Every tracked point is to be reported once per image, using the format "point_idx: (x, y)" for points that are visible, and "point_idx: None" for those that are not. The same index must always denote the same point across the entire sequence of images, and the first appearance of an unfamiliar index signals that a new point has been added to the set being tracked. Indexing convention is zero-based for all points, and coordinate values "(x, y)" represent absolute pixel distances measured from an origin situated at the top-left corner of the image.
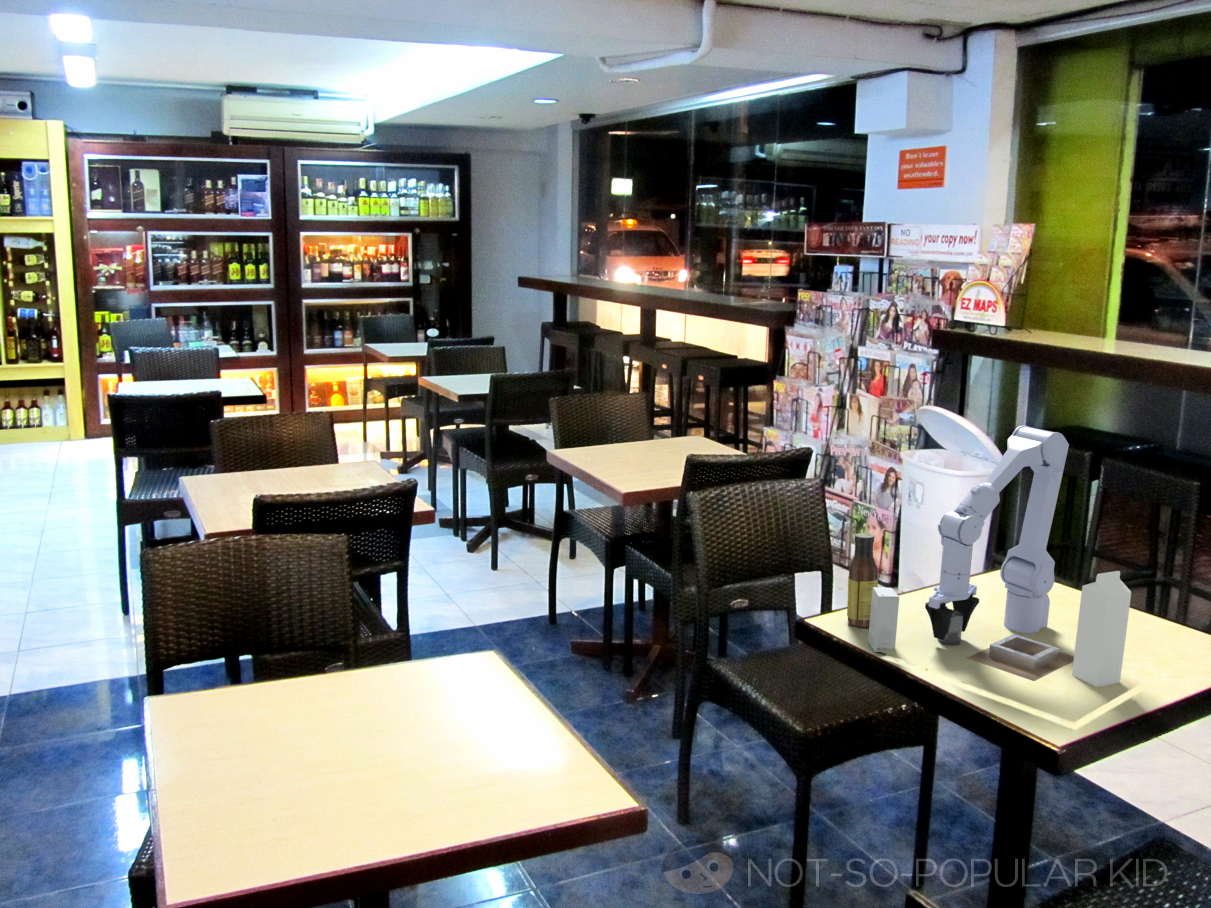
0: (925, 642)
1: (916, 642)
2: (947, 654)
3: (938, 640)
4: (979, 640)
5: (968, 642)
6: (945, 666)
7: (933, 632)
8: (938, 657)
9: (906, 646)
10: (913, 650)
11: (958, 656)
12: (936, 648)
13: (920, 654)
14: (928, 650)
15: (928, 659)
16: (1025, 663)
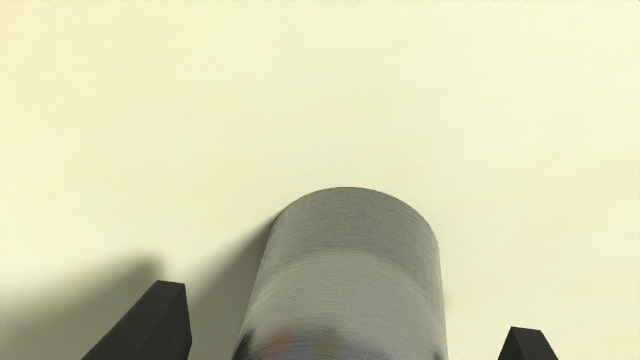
0: (272, 110)
1: (202, 54)
2: (201, 296)
3: (276, 240)
4: (628, 351)
5: (531, 318)
6: (41, 338)
7: (128, 313)
8: (107, 278)
9: (41, 37)
10: (35, 120)
11: (232, 342)
12: (231, 218)
13: (29, 187)
14: (144, 195)
15: (20, 251)
16: None
